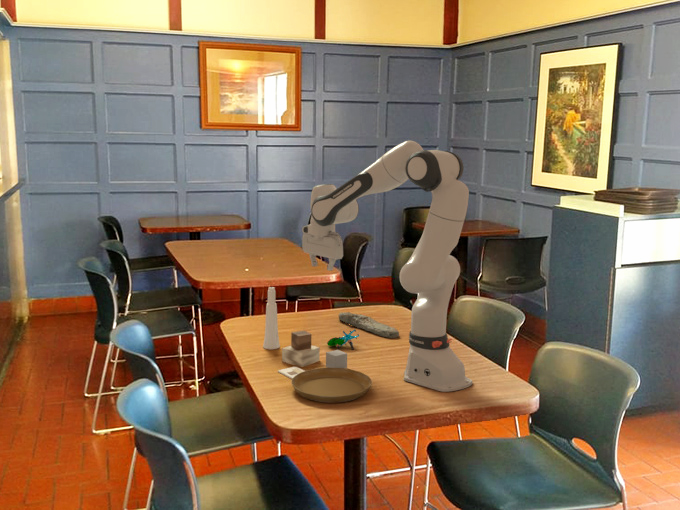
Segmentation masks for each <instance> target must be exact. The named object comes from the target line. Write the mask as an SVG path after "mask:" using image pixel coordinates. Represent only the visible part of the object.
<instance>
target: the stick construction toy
mask: <svg viewBox="0 0 680 510" xmlns="http://www.w3.org/2000/svg"><path fill="white" fill-rule="evenodd" d="M354 332H357V330H356V328H354V329H353V330H349V333H346V332H345V331H344V330H342V333H343V334H344V336H339V337H332V338H330V339H329V340H328V341H327V342H326V344H327V346H328V347H336V348H337V350H340V347H342V346H343V345H347V343H348V344H349V346H350V348H351V350H352V351H353V350H355V347H354V344H353V343H354V342H353V341H352V340H354V339H356V340H357V338H358V337H360V335H359V333H357V335H352V334H353V333H354Z"/></svg>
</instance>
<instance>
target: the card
mask: <svg viewBox="0 0 680 510" xmlns="http://www.w3.org/2000/svg"><path fill="white" fill-rule="evenodd" d="M304 371H305V369H302V368H300V367H299V366H296V365H294V366H292V367H287V368H282V369H278V370H277V372H278V373H279V374H281V375H283V376H285V377H286V378H289V379H291V380H292V379H293V377H294V376H296V375H297V374H299V373H301V372H304Z"/></svg>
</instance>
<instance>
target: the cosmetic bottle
mask: <svg viewBox="0 0 680 510" xmlns="http://www.w3.org/2000/svg"><path fill="white" fill-rule="evenodd" d="M275 288H276V287H274V286H270V287H268V290H267V303H266V307H265V325H264V326H265V327H264V328H265V329H264V340H263V345H262V348H263V349H264V350H278V349H279V348H280V347H281V344H280V339H279V329H278V327H279V326H278V306H277V305H278V304H277V303H276V289H275Z"/></svg>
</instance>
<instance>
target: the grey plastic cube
mask: <svg viewBox="0 0 680 510" xmlns="http://www.w3.org/2000/svg"><path fill="white" fill-rule="evenodd" d="M325 368H344V369H348V353H347V352H344V351H342V350H340V349H335V350H331V351H326V352H325Z"/></svg>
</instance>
